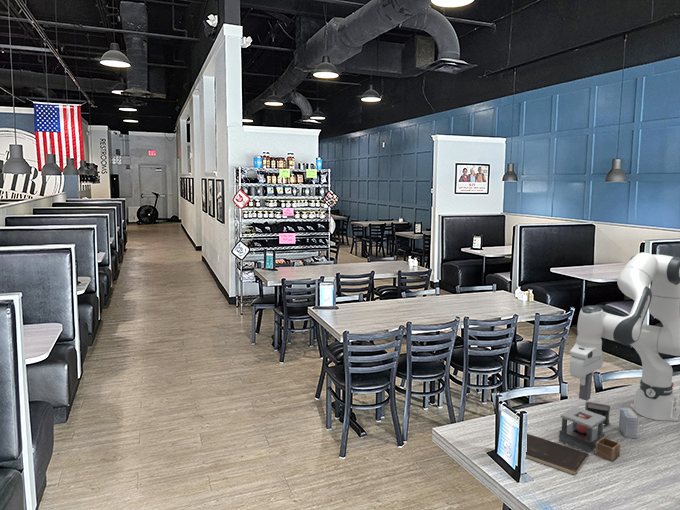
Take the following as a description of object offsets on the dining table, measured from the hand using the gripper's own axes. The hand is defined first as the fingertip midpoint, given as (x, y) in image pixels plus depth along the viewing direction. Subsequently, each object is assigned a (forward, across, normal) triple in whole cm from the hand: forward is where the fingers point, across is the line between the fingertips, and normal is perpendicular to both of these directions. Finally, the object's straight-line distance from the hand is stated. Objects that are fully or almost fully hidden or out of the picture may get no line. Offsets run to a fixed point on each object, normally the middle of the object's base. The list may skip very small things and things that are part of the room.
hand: (585, 383), depth 195 cm
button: (+20, 0, 0) cm, 20 cm away
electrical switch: (+24, -21, -3) cm, 32 cm away
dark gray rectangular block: (+6, 0, 0) cm, 6 cm away
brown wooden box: (+24, +3, +11) cm, 26 cm away
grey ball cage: (+24, 0, 0) cm, 24 cm away
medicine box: (+24, -21, +9) cm, 33 cm away
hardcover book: (+25, +19, -3) cm, 31 cm away
